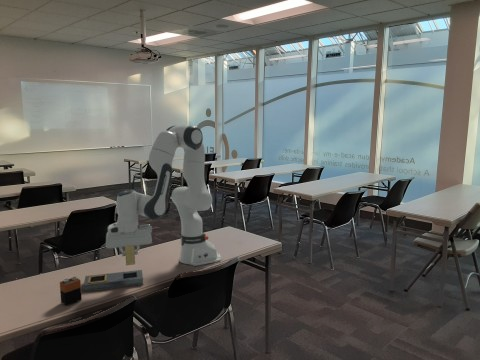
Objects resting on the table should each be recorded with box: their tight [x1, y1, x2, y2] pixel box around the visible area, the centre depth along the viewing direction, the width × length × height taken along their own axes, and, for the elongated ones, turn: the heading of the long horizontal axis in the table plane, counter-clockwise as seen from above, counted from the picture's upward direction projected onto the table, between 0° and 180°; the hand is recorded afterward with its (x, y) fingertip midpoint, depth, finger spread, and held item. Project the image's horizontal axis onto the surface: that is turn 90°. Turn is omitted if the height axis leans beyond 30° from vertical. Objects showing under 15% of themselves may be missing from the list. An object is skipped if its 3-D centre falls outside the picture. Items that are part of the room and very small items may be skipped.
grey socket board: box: [83, 269, 144, 293], centre depth 170 cm, size 25×10×3 cm, turn 108°
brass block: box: [124, 245, 136, 266], centre depth 170 cm, size 4×4×9 cm
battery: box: [59, 276, 83, 306], centre depth 152 cm, size 4×7×10 cm, turn 141°
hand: (130, 254), depth 170 cm, fingers closed on brass block, 4 cm apart
